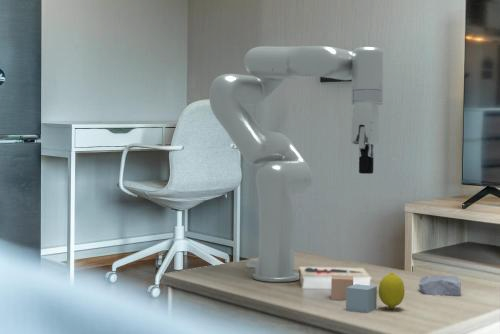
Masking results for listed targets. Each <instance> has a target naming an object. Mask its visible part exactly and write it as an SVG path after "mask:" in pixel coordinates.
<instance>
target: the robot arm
mask: <svg viewBox="0 0 500 334" xmlns="http://www.w3.org/2000/svg"><path fill="white" fill-rule="evenodd" d="M243 61H244V62H243V63H244V64H243V65H244V67H245V69H246V71H247V73H248V74H250V75H246V74H238V73H224V74H221V75H219V76H217V77H215V78H214V80H213V81H212V83H211V84H210V87H209V96H208V97H209V104H210V107H211V108H210V109H211V111H212V113H213V116H215V119H217V121H218V122H219V123H220V125H221V126H222V127H223V129H224V130H225V131H226V133H227V134H228V136H229V138H230V140H231V141H232V143H233V144H234V145H235V146H236V148H237V150H238V151H239V153H240V155H241V156H242V157H243V159H244V160H245V161H246V162H247V163H248V164H250V165H252V166H260V168H259V169H258V170H257V172H256V176H255V184H256V185H255V186H256V190H257V197H258V206H259V207H258V210H259V211H258V213H259V217H258V223H259V224H258V225H259V226H258V228H259V229H258V230H259V232H258V234H259V235H258V236H259V237H258V238H259V239H258V243H259V244H258V260H256V261H248V260H247V261H246V262H245V267H244V268H246V269H247V270H254V271H255V272H254V273H253V274H252V278H253V279H254V280H256V281H261V282H270V283H287V282H295V281H298V280H299V274H300V273H299V272H296V271H295V238H296V237H295V234H296V233H295V231H296V230H295V229H296V228H295V227H296V225H295V220H296V219H295V217H296V215H295V213H296V212H295V207H294V203H293V200H292V197H291V196H299V195H303V194H305V193H307V192H308V191H309V190H310V189H311V187H312V185H313V172H312V170H311V168H310V166H309V164H308V163H307V161H306V160H305V158H304V157H303V156H302V154H301V153H300V151H299V150H298V148H296V146H295V145H294V143H293V142H292V140H290V139H289V138H288V136H286V135H285V134H283V133H281V132H277V131H267V130H264V128H262V126H260V124H259V123H258V122H257V120H256V119H255V118H254V116H253V115H252V114H251V113H250V111H248V110H247V109H246V108H244V107H243V106H251V107H252V106H253V107H254V106H258V105H260V104H261V103H263V102H264V101H265V100H267V98H268V97H269V96H270V95H271V94H273V92H274V91H276V89H277V88H278V87H279V86H280V85H281V84H282V83H283V82H284V81H285V80H287V79H288V80H297V79H299V78H301V77H316V78H327V79H335V80H341V81H350V80H351V105H353V108H352V120H351V135H350V136H351V137H350V141H351V143H352V144H353V145H358V155H359V157H358V158H359V159H358V173H359V174H365V175H366V174H368V175H371V174H374V152H375V151H374V149H375V145H377V144H378V143H379V137H380V111H379V110H380V109H379V106H380V105H382V106H383V102H384V101H383V100H384V97H383V95H384V92H383V88H384V51H383V49H381V48H380V47H376V46H361V47H360V46H359V47H357V48H355V49H354V50H348V49H344V48H339V47H334V46H326V45H323V46H321V45H315V46H314V45H311V46H310V45H307V46H306V45H302V46H297V45H296V46H270V45H269V46H267V45H264V46H256V47H253V48H251V49H250V50H248V51H247V52H246V54H245V56H244V59H243Z"/></svg>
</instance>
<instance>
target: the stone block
mask: <svg viewBox="0 0 500 334" xmlns="http://www.w3.org/2000/svg"><path fill="white" fill-rule="evenodd" d="M458 277H459V276H458V275H444V274H443V275H442V274H432V275H430V276H423V277H420V279H419V282H418V288H419V292H421V293H422V294H423V295H426V294H427V295H426V296H436V295H440V296H441V297H442V296H443V295H445V296H447V297H448V296H449V297H460V296H461V295H462V294H461V289H462V287H461V285H462V284H461V279H460V278H458Z"/></svg>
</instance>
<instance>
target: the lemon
mask: <svg viewBox="0 0 500 334" xmlns="http://www.w3.org/2000/svg"><path fill="white" fill-rule="evenodd" d="M405 291H406V290H405V285H404V282H403V279H402V278H401V277H400V276H398V275H396V274H395V273H394V272H390V273H389V274H386V275H385V276H383V277H382V279H381V280H380V282H379V286H378V294H379V299H380V300H381V302H382V304H384V305H385V306H387V307H388V308H389V310H393V309H394V308H395V307H397V306H399V305H400V304H401V303H402V302H403V300H404V297H405Z"/></svg>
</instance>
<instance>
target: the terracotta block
mask: <svg viewBox="0 0 500 334" xmlns="http://www.w3.org/2000/svg"><path fill="white" fill-rule="evenodd" d="M352 285H354V275H337V274H335V275H334V274H332V275H331V291H330V293H331V294H330V297H331V298H330V300H331V301H345V302H346V287H349V286H352Z"/></svg>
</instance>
